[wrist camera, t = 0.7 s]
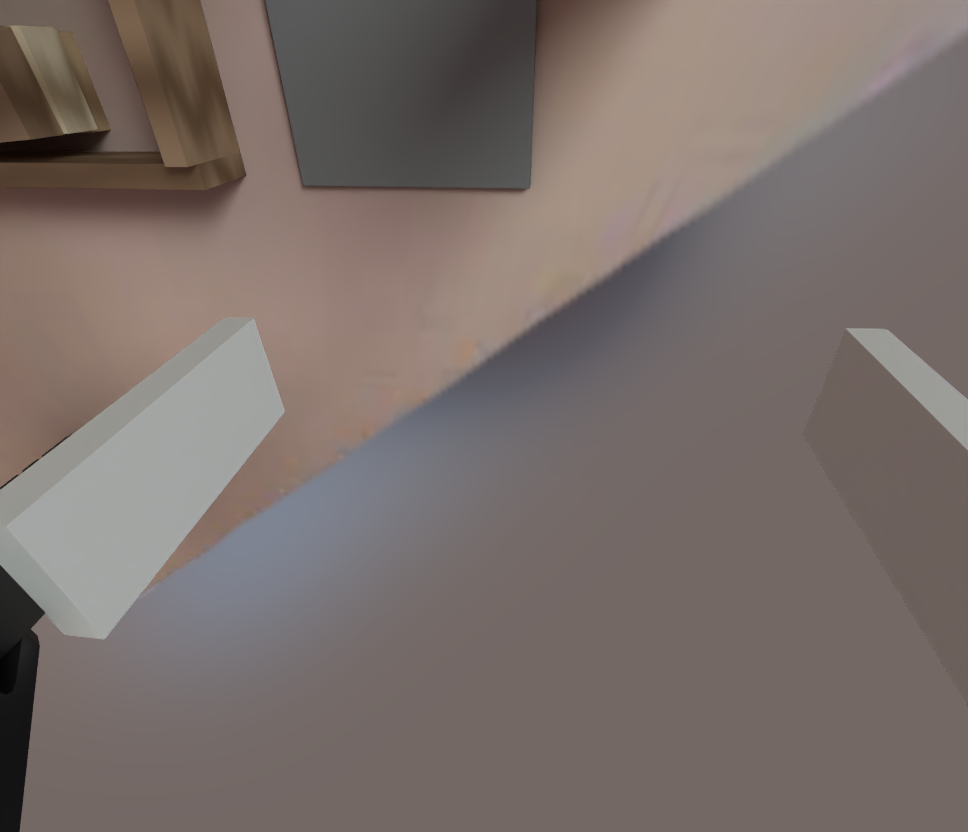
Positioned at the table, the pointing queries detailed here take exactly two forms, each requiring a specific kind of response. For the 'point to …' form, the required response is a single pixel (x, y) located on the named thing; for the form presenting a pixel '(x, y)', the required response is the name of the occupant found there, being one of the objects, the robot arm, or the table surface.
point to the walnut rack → (153, 112)
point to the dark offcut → (21, 96)
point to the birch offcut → (55, 77)
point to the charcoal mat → (408, 90)
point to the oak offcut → (84, 81)
